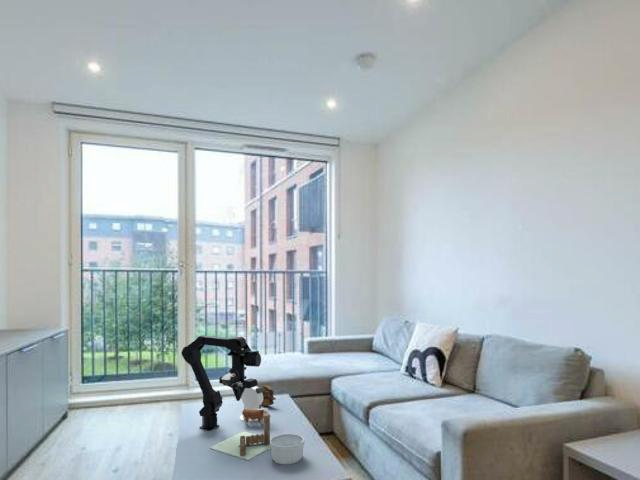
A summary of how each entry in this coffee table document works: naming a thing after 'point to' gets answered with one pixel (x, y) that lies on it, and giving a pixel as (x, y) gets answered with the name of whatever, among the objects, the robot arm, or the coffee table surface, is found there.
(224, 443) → the card
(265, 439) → the fence swing panel
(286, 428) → the coffee table surface
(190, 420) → the coffee table surface
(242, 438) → the fence fixed panel
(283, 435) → the ramekin
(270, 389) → the wooden carving
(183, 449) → the coffee table surface
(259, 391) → the white rounded piece
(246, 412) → the bull figurine
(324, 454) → the coffee table surface
